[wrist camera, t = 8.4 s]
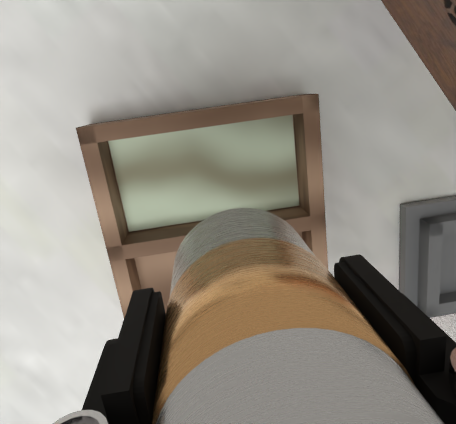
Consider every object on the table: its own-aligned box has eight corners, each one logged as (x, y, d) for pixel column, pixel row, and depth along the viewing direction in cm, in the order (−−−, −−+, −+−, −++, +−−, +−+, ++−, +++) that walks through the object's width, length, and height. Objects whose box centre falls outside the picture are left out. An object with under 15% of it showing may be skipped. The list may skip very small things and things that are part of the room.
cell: (313, 321, 14) (534, 732, 5) (184, 342, 14) (166, 815, 5) (305, 196, 13) (602, 458, 4) (159, 218, 13) (63, 561, 3)
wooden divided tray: (317, 302, 36) (331, 324, 32) (140, 331, 35) (134, 358, 32) (303, 94, 30) (318, 93, 27) (90, 124, 29) (75, 127, 26)
